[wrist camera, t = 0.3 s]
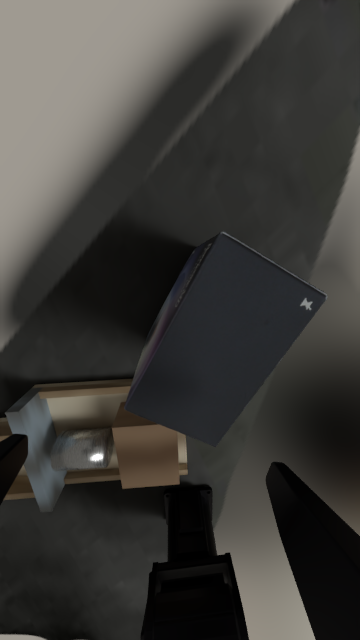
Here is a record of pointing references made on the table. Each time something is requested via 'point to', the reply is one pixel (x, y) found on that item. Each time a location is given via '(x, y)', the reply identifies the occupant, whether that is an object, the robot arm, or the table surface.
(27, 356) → the table surface
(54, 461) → the roller
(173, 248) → the table surface
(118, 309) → the table surface
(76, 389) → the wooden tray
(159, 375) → the small box
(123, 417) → the slab
